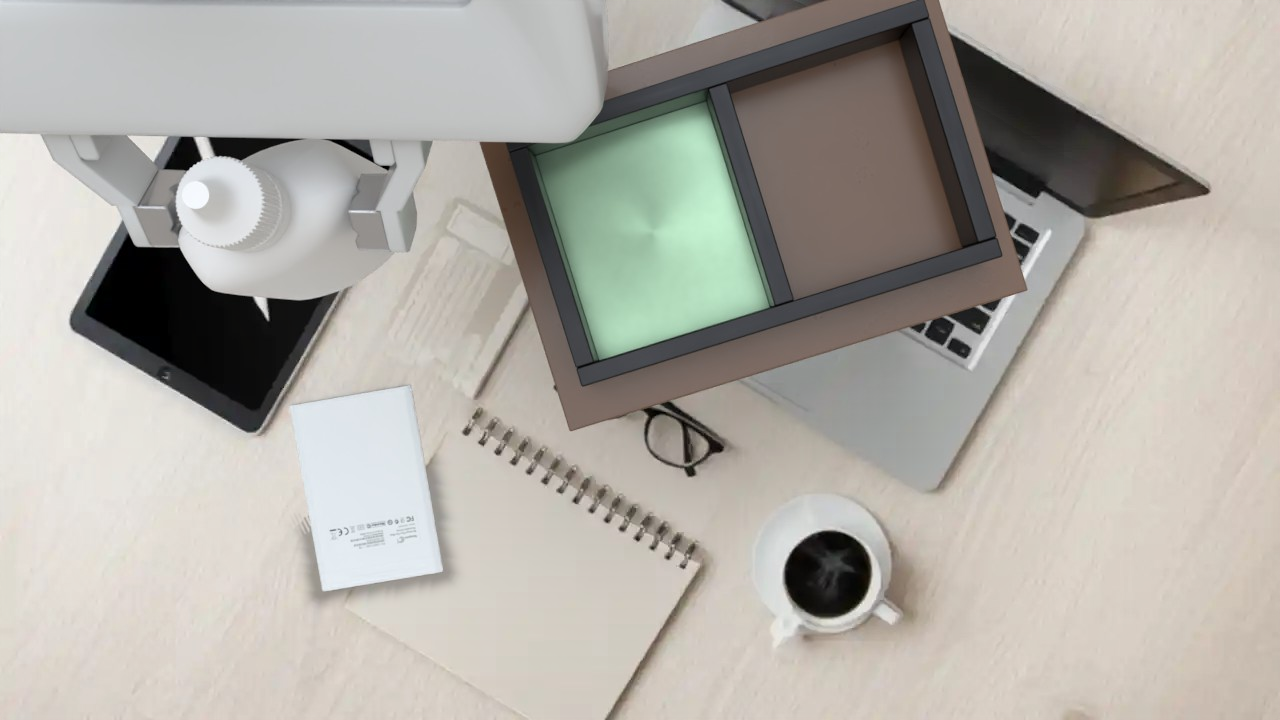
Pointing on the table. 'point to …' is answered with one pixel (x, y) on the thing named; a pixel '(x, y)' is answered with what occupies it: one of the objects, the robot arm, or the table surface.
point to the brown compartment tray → (756, 206)
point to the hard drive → (366, 488)
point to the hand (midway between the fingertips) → (281, 237)
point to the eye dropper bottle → (276, 221)
